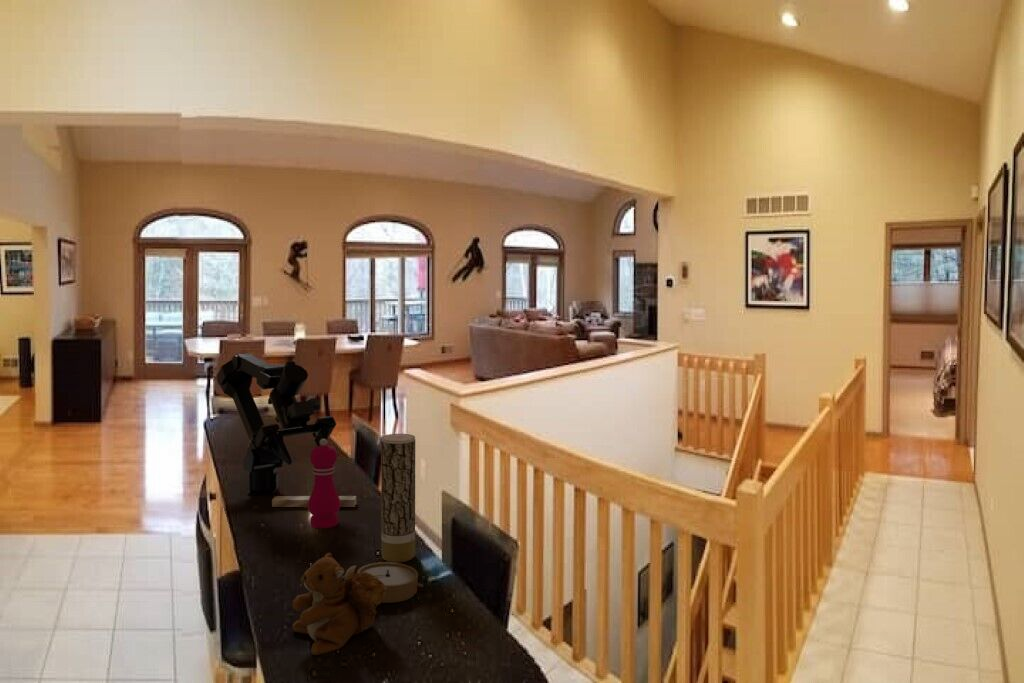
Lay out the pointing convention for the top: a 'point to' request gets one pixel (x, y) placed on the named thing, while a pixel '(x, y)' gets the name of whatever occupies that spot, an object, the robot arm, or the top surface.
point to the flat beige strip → (303, 501)
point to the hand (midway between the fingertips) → (308, 460)
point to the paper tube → (398, 497)
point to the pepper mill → (323, 487)
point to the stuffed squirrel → (336, 604)
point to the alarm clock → (391, 579)
